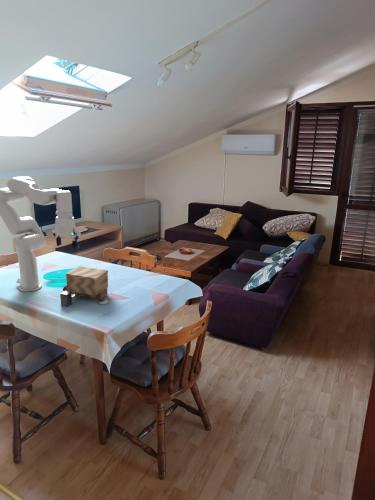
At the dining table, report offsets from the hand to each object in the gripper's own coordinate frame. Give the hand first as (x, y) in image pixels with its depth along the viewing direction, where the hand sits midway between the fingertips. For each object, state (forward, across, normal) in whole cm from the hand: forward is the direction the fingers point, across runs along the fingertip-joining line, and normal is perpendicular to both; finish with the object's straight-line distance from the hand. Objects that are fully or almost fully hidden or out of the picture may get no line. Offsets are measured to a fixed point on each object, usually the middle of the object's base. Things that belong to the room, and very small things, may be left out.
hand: (66, 246), depth 191 cm
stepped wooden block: (+30, +8, +6) cm, 32 cm away
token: (+31, +20, +2) cm, 37 cm away
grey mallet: (+30, +3, -3) cm, 31 cm away
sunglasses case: (+31, -4, +14) cm, 34 cm away
